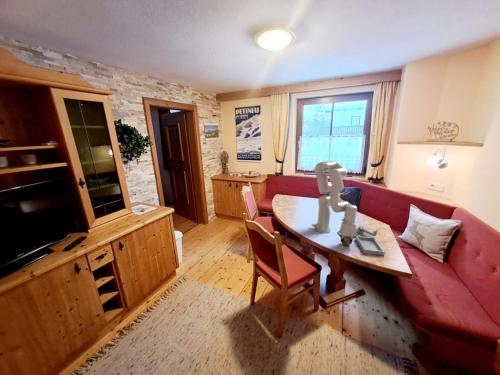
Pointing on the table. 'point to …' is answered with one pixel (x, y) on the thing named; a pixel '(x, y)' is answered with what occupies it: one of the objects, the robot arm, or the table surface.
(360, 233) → the crank base
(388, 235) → the table surface
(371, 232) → the crank
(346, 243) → the block
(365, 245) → the tray
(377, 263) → the table surface
